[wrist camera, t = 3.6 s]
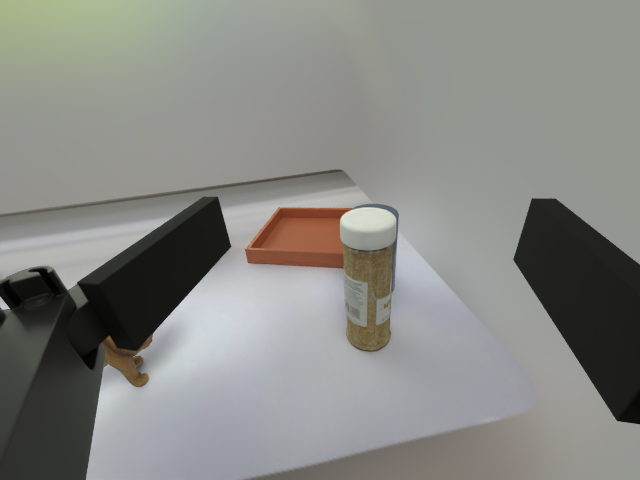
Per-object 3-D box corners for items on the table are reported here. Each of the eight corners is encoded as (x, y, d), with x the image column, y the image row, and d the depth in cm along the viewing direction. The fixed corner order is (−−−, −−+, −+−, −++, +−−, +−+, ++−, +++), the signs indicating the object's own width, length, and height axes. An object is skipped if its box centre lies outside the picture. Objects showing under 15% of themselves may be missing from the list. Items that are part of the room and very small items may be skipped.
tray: (358, 220, 53) (358, 208, 52) (348, 268, 40) (347, 253, 39) (280, 218, 56) (278, 207, 55) (248, 262, 44) (244, 249, 42)
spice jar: (397, 346, 28) (407, 223, 22) (353, 357, 28) (348, 233, 21) (380, 314, 32) (383, 201, 26) (340, 322, 32) (333, 209, 25)
